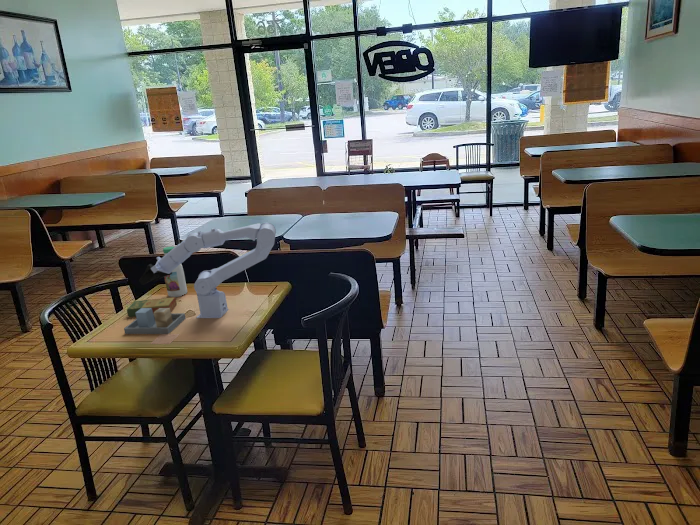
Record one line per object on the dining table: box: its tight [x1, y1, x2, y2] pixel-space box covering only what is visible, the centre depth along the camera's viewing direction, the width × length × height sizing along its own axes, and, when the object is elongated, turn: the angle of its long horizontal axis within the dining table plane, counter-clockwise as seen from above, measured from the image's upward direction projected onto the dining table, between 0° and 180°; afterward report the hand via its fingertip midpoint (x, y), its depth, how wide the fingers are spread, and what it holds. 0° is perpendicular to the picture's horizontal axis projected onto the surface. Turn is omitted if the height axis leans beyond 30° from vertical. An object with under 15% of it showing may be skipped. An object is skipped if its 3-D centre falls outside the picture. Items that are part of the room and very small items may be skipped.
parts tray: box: [123, 312, 186, 335], centre depth 183 cm, size 16×12×2 cm
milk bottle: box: [162, 246, 188, 298], centre depth 212 cm, size 8×8×20 cm
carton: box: [126, 297, 178, 318], centre depth 197 cm, size 8×16×4 cm, turn 92°
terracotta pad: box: [150, 333, 180, 345], centre depth 173 cm, size 7×7×1 cm
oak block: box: [154, 308, 173, 328], centre depth 182 cm, size 4×4×6 cm
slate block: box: [135, 308, 155, 328], centre depth 183 cm, size 4×4×6 cm
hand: (145, 281), depth 184 cm, fingers open, 7 cm apart
